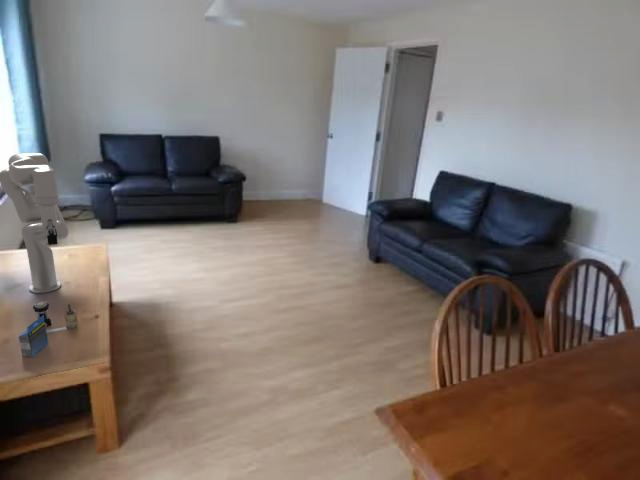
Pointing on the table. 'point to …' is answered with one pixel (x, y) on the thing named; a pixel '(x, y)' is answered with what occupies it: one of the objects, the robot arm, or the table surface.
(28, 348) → the label tape cartridge
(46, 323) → the push button
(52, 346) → the table surface
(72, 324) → the awl
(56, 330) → the flat metal tool blade
